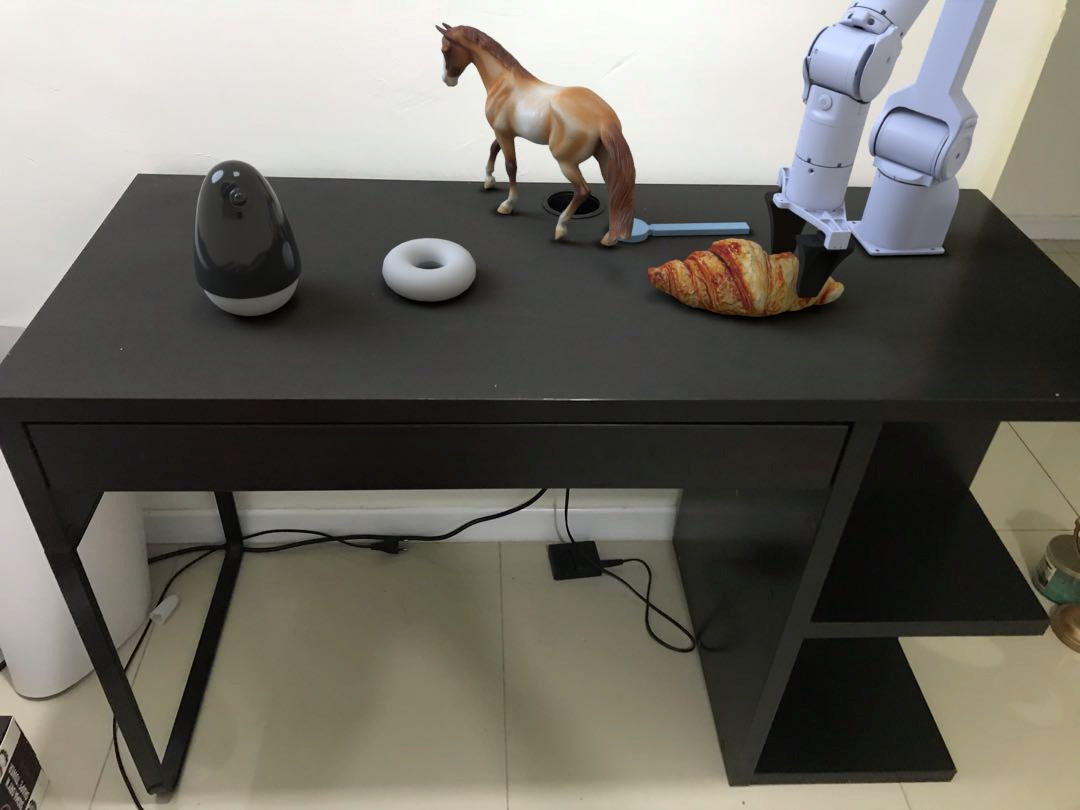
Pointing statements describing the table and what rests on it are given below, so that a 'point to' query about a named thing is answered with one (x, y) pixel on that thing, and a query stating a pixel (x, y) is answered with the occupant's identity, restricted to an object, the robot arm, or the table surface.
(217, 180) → the pump dispenser
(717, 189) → the table surface
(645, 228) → the spoon
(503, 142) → the horse figurine
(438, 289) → the donut
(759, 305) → the croissant
